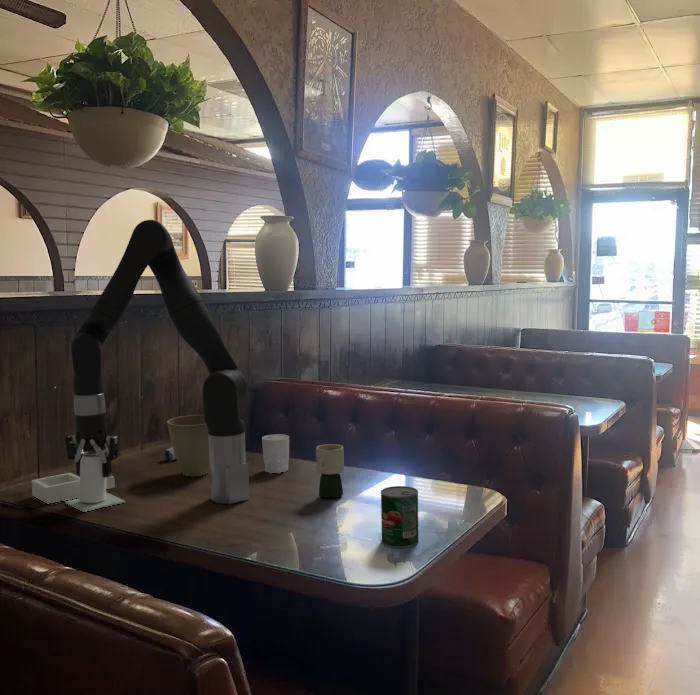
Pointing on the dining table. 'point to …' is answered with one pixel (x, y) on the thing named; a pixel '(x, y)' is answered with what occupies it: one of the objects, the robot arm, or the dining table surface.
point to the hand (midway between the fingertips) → (94, 475)
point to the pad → (86, 507)
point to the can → (92, 479)
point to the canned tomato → (399, 516)
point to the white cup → (276, 453)
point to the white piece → (61, 487)
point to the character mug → (330, 469)
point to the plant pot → (190, 444)
